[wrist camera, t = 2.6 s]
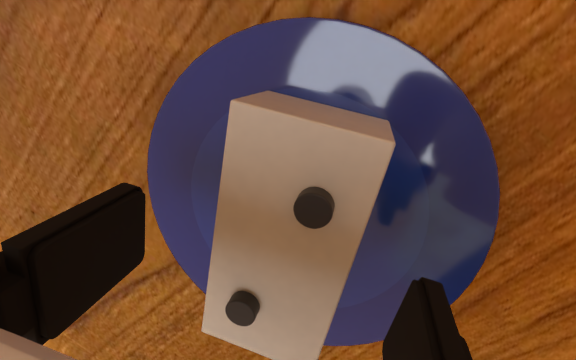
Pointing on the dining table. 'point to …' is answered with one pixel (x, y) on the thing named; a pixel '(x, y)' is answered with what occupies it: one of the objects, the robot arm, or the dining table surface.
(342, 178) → the controller
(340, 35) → the plate
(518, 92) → the dining table surface
